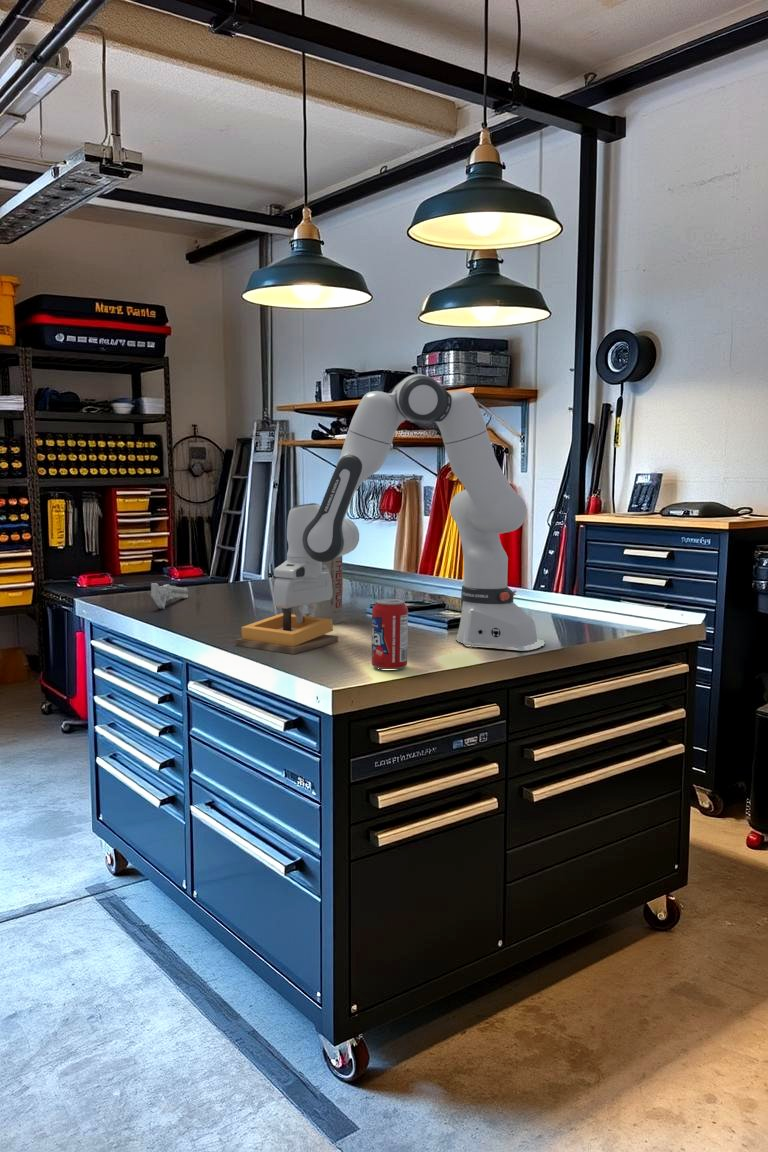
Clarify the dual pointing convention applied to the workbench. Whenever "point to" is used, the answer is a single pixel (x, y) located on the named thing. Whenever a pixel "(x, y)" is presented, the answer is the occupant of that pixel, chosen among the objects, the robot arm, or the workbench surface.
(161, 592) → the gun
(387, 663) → the soda can
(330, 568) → the thermos bottle
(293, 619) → the loop
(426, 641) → the workbench surface
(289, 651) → the wooden peg stand
